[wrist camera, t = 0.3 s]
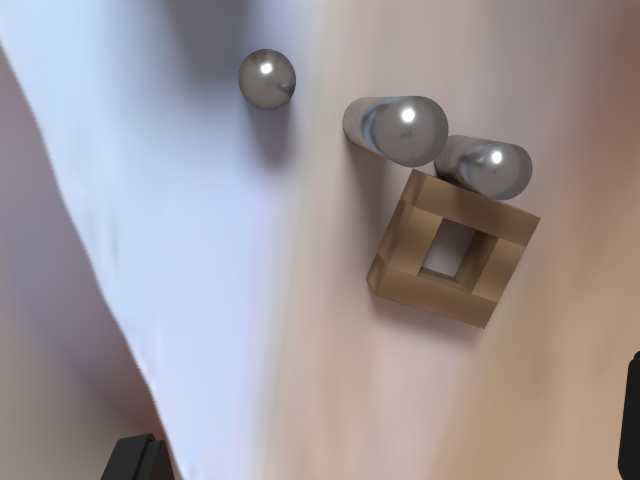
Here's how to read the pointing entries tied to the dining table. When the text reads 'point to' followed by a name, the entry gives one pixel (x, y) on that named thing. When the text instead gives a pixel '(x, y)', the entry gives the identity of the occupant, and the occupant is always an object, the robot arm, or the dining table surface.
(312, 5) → the dining table surface
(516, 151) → the medium pin
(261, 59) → the short pin
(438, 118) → the long pin
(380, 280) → the socket block
